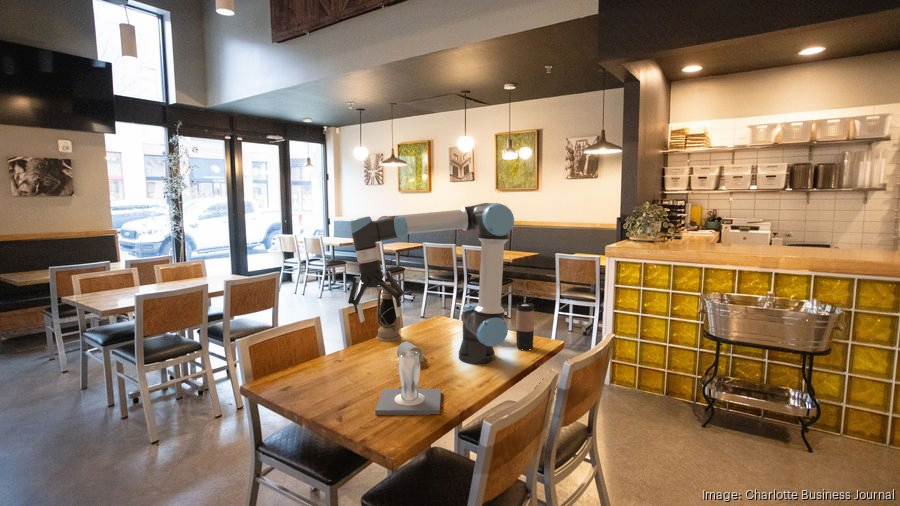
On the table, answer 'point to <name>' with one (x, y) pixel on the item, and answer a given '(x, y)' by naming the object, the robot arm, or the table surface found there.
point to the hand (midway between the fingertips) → (380, 318)
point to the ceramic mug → (409, 349)
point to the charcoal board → (409, 403)
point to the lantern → (387, 317)
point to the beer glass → (409, 375)
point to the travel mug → (525, 326)
